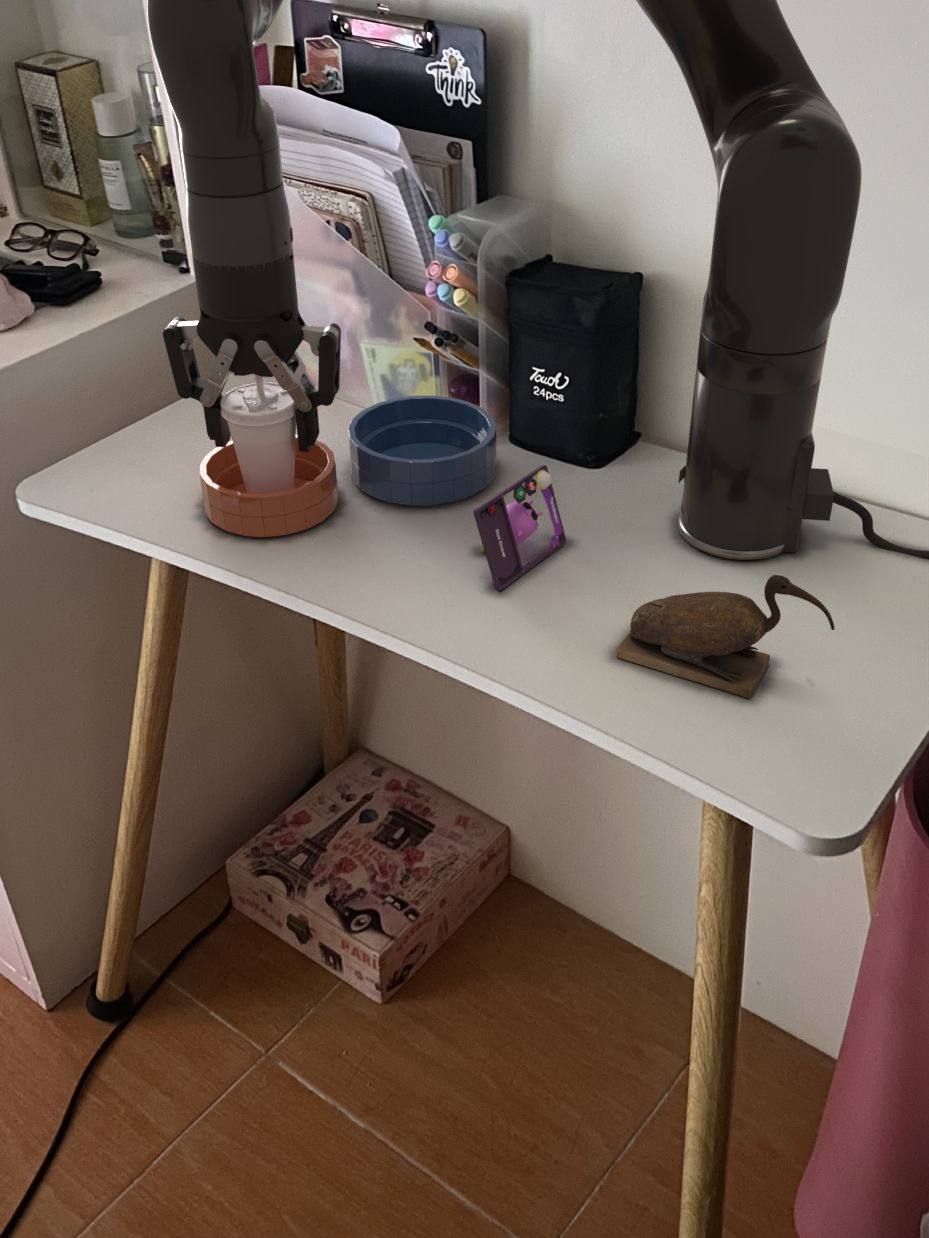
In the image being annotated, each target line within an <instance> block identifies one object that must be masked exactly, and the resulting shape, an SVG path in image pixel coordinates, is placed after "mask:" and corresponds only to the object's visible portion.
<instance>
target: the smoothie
mask: <svg viewBox="0 0 929 1238" xmlns="http://www.w3.org/2000/svg"><path fill="white" fill-rule="evenodd" d="M254 377H255V382H251V383H246V384H242V385H238V386H236V387H234V388H231V389H229V390H228V391H227V392H226V393H224V394H223V395H222V396H223V397H222V398H221V401H220V404H221V414H222V417H223V418H224V419H226V420H227V422H228V426H229V430H230V434H231V441H233V444H234V448H235V451H236V455H237V459H238V462H239V466H240V470H241V473H242V477H243V480H244V484H245V488H246V491H247V493H254V494H265V493H275V492H282V491H286V490H290V489H294V474H295V440H296V434H297V426H296V416H295V412H296V410H297V408H298V407H297V406H296V404H295V403H294V401H293V400H292V398H291V397H290V395H289V393H288V392H287V391H286V390H283V389H282V388H281V386H280V385H279V383H278V382H269V381H268V382H267V381H265V382H264V380H263V378H264V377H262V376H258V375H255V374H254Z"/></svg>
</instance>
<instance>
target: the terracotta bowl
mask: <svg viewBox="0 0 929 1238" xmlns="http://www.w3.org/2000/svg"><path fill="white" fill-rule="evenodd" d="M336 465H337V464H336V459H335V454H334V452H333V451H332V450H331V449H330V447H328V446H327V444H326V443H324V442H321V441H319V440H318V439H317V440H316V442H315V444H314V446H313V445H312V446H311V448H310V450H309V452H300V451H299V446H298V436H297V433H296V440H295V474H294V489H290V490H286V491H282V492H275V493H265V494H254V493H247V491H246V488H245V484H244V480H243V477H242V473H241V470H240V466H239V462H238V459H237V455H236V451H235V448H234V444H233V441H232V440H229V442H228V444H227V445H226V447H216V446H215V448H214V449H212V450H211V451H210V452H208V453H207V454H206V455H204V458H203V459H202V461H201V462H200V464H199V467H198V468H199V481H200V487H201V494H202V499H203V505H204V507H203V508H204V512H205V515H206V516H207V518H208V519H209V521H210V522H211V524H213V525H215V526H216V527H218V528H220V529H221V530H224V531H226V532H229V533H232V534H236V535H240V536H244V537H255V538H270V537H280V536H286V535H292V534H295V533H298V532H302V531H305V530H308V529H310V528H312V527H314V526H316V525H318V524H320V523H322V522H323V521H325V520H327V518H328V517H329V516H330V515H331V514H332V513H334V512H335V509H336V507H337V504H338V502H339V490H338V479H337V466H336Z"/></svg>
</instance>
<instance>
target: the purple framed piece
mask: <svg viewBox="0 0 929 1238" xmlns="http://www.w3.org/2000/svg"><path fill="white" fill-rule="evenodd" d="M534 477H535V478H534ZM552 481H553V480H552V476H551V474H550V472H549V469H548V466H547V465H546V464H542V465H541V464H540V465H539V466H538V467H536V468H535V469H533V470H532V471H530V472H529V473H527V474H526V475H524V476H522V477H521V478H519V479H518V480H516V481H515V482H512V484H510V485H509V486H507V487H506V488H504V489H502V490H501V491H499V492H498V493H496V494H495V495H492V497H490V498H489V499H487V500H485V501H483V503H481V504H480V505H478V506H476V507H475V508H474V509H473V510H472V511H473V512H472V514H473V516H474V520H475V525H476V527H477V530H478V535H479V537H480V540H481V545H482V546H481V547H480V549H479V551H480V552H481V553H484V555H485V557H486V561H487V566H488V569H489V571H490V575H491V579H492V582H493V585H494V588H495V590H496V591H502V590H504V589H505V588H507V587H508V586H509V585H510V584H512V583H513V582H515V581H516V580H518V578H520V577H522V576H523V575H524V574H525V573H527V572H528V571H530V570H531V569H532V568H534V567H535V566H536V565H537V564H539V563H541V562H542V561H543V560H544V559H546V558H547V557H549V556H550V555H551V554H553V553H554V552H555V551H557V550H558V549H559V548H561V547H563V545H565V544H566V543H567V537H566V533H565V529H564V525H563V521H562V518H561V514H560V510H559V507H558V502H557V499H556V495H555V492H554V488H553V484H552ZM523 484H524V485H523ZM537 487H538V489H539V490H540V492H541V494H542V496H543V499H544V502H545V504H546V507H547V511H548V513H549V517H550V520H551V523H552V527H553V532H554V534H553V535H552V536H551V537H550V542H551V545H549V546H548V547H547V548H546V549H544V550H543V551H541V552H540V553H539V554H537V555H536V556H534V557H533V558H532V559H531V560H529V561H528V562H526V563H525V564H523V563H522V560H521V554H520V552H519V548H518V546H520V545H521V544H523V543H524V542H526V541H527V540H528V539H530V537H532V535H533V534H534V533H535V532H536V531H537V530H540V528H539V527H541V526H543V524H542V523H539V521H538V519H539V517H540V516H543V514H544V512H543V511H539V512H536V510H535V509H534V508H533V506H532V505H533V503H534V500H533V499H530V500H529V501H526V498H527V497H526V496H528V497H531V496H533V495H534V494H536V493H537ZM512 491H513V500H514V501H513V502H510V503H508V504H507V505H506V501H505V496H506V495H508V494H509V493H511V492H512Z"/></svg>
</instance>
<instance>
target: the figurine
mask: <svg viewBox="0 0 929 1238" xmlns="http://www.w3.org/2000/svg"><path fill="white" fill-rule="evenodd" d="M763 590H764V591H763V593H764V600H765V602H766V604H767V606H768V609H769V611H770V616H769V617H767V615H766V613H764V612H763V610H762V609H761V608H760V606H759V605H757V603H756V602H755V601H754V600H753V599H752V598H750V597H748V596H745V595H743V594H740V593H735V592H727V591H700V592H691V593H682V594H675V595H669V596H666V597H664V598H658V599H653V600H651V601H648V602H645V603H643V604H641V605H640V606H639V607H638V608H636V609H635V610H634V612H633V614H632V616H631V619H630V630H629V632H628V634H627V635H626V636H625V638H623V640H622V641H621V642H620V643H619V644H618V646H617V647H616V648H615V649H616V652H615V654H616V655H615V656H616V657H615V658H619V659H621V660H624V661H628V662H631V663H634V664H637V665H641V666H644V667H647V668H651V669H654V670H657V671H660V672H664V673H667V674H669V675H672V676H676V677H680V678H683V679H685V680H690V681H692V682H695V683H699V684H703V685H706V686H709V687H712V688H716V689H719V690H722V691H725V692H728V693H732V694H735V695H737V696H741V697H743V698H747V699H750V698H751V697H752V695H753V694H754V691H755V689H756V688H757V686H758V684H759V682H760V681H761V679H762V677H763V675H764V674H765V671H766V669H767V668H768V666H769V664H770V659H771V655H770V654H769V653H765V652H761V651H759V648H757V647H755V646H753V645H755V644H757V643H758V642H759V641H761V639H763V637H764V636H765V635H766V634H767V633H769V632H770V631H772V630H773V629H775V627H776V626H777V625H778V624H779V622H780V620H781V617H782V616H781V615H782V614H781V610H780V607H779V605H778V603H777V601H776V594H777V595H783V596H784V595H786V596H790V597H791V596H792V597H796V598H798V599H801V600H804V601H806V602H808V603H810V604H812V605H814V606H815V607H817V608H818V609H819V610H820V611H822V613H823V614H824V615H825V617H826V618H827V620H828V623H829V626H830V629H831V631H834V630H836V629H835V628H836V627H835V624H834V620H833V617H832V614H831V613H830V611H829V610H828V609H827V607H826V606H825V605H824V603H822V601H820V600H819V599H818V598H817V597H815V596H814V595H813V594H811V593H809V592H807V591H806V589H803V588H801V587H799V586H798V585H796V584H794V583H792V581H791V580H790V579H789V578H788V577H786V576H783V575H779V574H774V575H773V574H772V575H771V576H770V577H769V578H768V579H767V580H766V582H765V585H764V589H763Z"/></svg>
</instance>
